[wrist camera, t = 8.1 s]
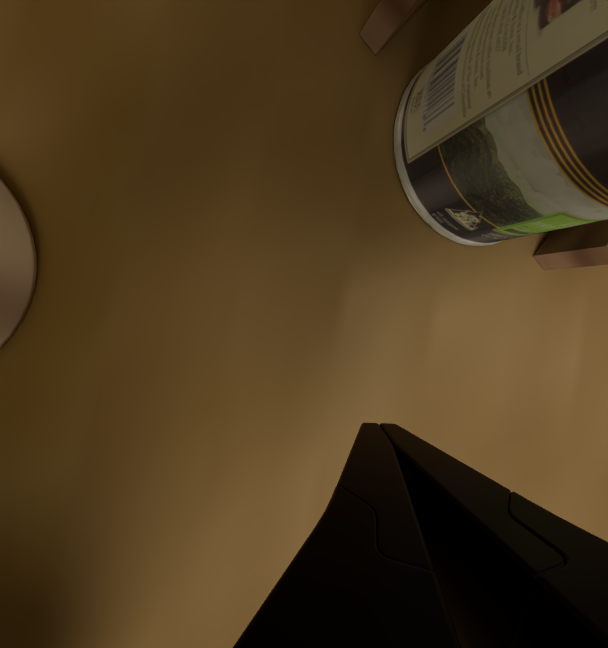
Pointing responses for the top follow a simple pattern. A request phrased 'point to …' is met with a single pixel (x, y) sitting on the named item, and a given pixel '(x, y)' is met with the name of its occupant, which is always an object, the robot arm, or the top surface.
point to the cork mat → (14, 264)
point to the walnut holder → (562, 244)
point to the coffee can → (510, 124)
